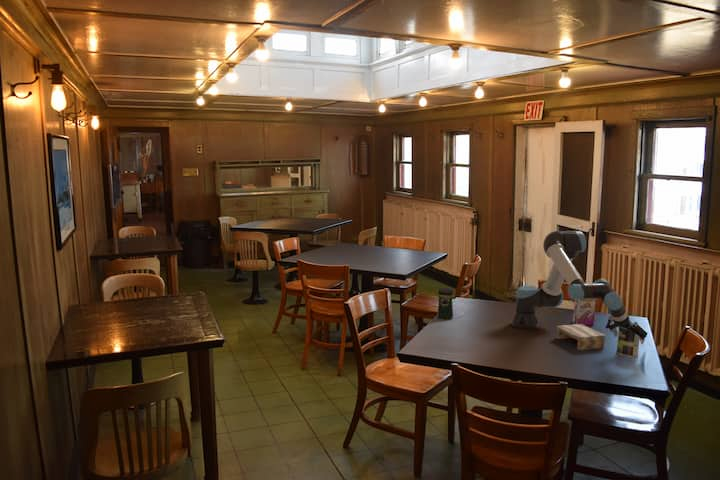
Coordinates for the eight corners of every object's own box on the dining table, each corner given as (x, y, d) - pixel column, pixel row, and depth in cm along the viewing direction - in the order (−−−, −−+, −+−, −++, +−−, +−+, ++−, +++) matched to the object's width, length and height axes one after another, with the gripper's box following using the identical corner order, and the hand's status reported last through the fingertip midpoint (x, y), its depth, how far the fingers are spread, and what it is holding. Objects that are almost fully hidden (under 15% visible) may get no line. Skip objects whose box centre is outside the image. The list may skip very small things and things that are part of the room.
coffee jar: (453, 316, 359) (455, 287, 356) (452, 320, 351) (453, 290, 348) (438, 315, 361) (439, 286, 358) (436, 318, 354) (437, 289, 351)
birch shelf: (578, 350, 303) (579, 337, 302) (555, 337, 322) (556, 325, 321) (604, 347, 307) (605, 335, 306) (580, 335, 326) (581, 323, 325)
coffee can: (623, 357, 294) (625, 330, 292) (612, 350, 304) (615, 324, 302) (642, 357, 295) (645, 330, 293) (631, 349, 305) (633, 324, 303)
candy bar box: (574, 324, 347) (576, 298, 344) (572, 322, 352) (574, 295, 349) (594, 325, 346) (596, 298, 343) (591, 323, 351) (593, 296, 348)
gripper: (592, 316, 293) (603, 338, 305) (643, 328, 275) (652, 351, 287) (597, 304, 296) (608, 326, 308) (648, 315, 278) (657, 338, 290)
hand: (629, 338), depth 298 cm, fingers open, 13 cm apart
